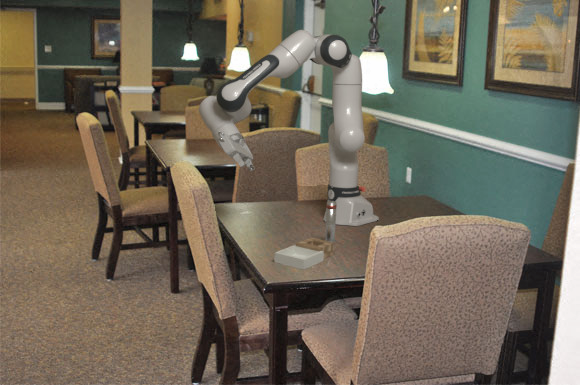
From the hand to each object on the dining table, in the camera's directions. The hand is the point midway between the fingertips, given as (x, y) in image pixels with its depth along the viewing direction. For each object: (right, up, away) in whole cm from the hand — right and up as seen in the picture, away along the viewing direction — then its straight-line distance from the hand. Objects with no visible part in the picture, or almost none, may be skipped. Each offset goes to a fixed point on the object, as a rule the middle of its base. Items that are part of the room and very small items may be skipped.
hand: (248, 168), depth 230 cm
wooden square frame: (+23, -29, -17) cm, 40 cm away
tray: (+17, -30, -24) cm, 42 cm away
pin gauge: (+28, -27, -9) cm, 40 cm away
